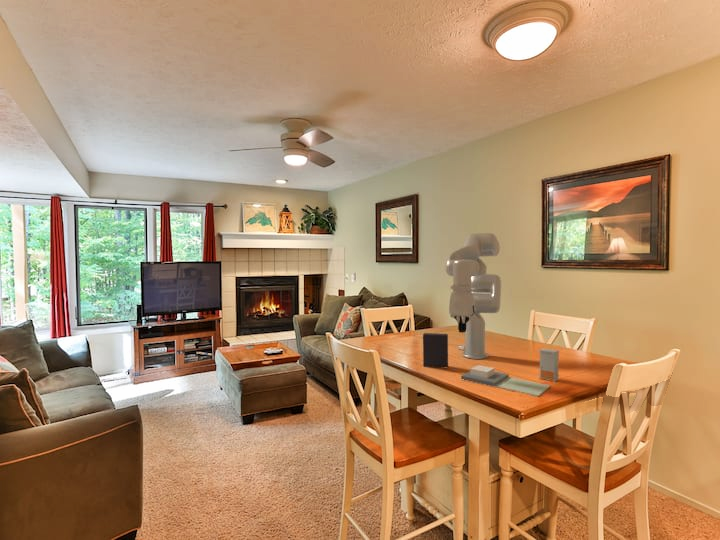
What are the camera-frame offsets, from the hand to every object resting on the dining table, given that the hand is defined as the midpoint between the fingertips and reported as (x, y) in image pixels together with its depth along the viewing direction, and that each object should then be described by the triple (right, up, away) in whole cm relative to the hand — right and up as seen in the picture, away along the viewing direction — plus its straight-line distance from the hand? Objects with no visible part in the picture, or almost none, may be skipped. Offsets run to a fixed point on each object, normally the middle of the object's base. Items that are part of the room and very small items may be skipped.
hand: (462, 332), depth 164 cm
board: (+8, -18, -6) cm, 21 cm away
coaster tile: (+7, -17, -5) cm, 19 cm away
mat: (+19, -19, -16) cm, 31 cm away
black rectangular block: (-9, -18, +13) cm, 24 cm away
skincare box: (+33, -18, -7) cm, 39 cm away
